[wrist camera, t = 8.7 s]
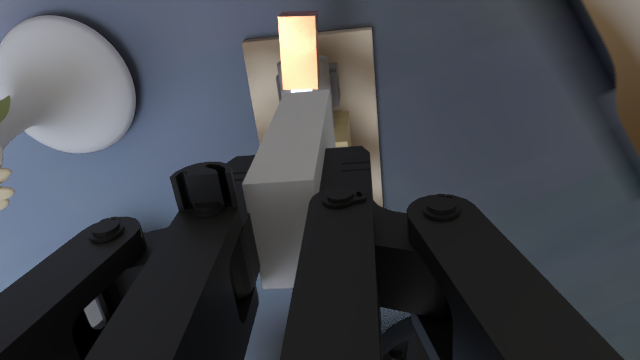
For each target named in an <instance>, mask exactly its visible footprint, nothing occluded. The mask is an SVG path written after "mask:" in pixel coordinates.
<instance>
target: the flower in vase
mask: <svg viewBox="0 0 640 360" xmlns="http://www.w3.org/2000/svg"><path fill="white" fill-rule="evenodd" d="M0 99H1V101H0V183H2V182H4V181H5V180H7V179H8V177H9V176H10V175H11V173H12V171H11V170H9V169H6V168H1V166H2V163H3V150H4V148H5V147H6V145H7V144H8V143H9V142H10V141H11V140H12V139H13V138H15V137H16V136H17V135H18V134H20V133H21V132H23V131H25V132H26V133H27V134H28V135H30V136H31V137H33V138H34V139H36V140H37V141H39V142H41V143H42V144H44V145H46V146H49V147H51V148H53V149H57V150H60V151H64V152H70V153H87V152H95V151H100V150H102V149H105V148H108V147H110V146H111V145H113V144H115V143H116V142H117V141H119V140H120V139H121V138H122V137H123V136H124V135H125V133H126V132H127V131H128V129H129V127H130V125H131V123H132V121H133V117H134V114H135V108H136V94H135V87H134V84H133V80H132V77H131V74H130V72H129V69H128V67H127V66H126V64H125V62H124V60H123V59H122V57H121V56H120V54H119V53H118V52H117V50H116V49H115V48H114V47H113V46H112V44H110V43H109V42H108V41H107V40H106V39H105V38H104V37H103V36H102V35H100V34H99V33H98V32H96V31H95V30H94V29H92V28H90V27H89V26H87V25H85V24H83V23H81V22H78V21H76V20H73V19H70V18H67V17H62V16H54V15H44V16H37V17H32V18H29V19H27V20H24V21H22V22H21V23H19V24H17V25H16V26H15V27H14V28H12V29H11V30H10V31H9V32H8V34H7V35H6V36H5V38H4V39H3V41H2V42H1V44H0ZM14 192H15V190H14V189H12V188H8V187H1V186H0V210H2V209H4V208H6V207H7V206H8V204H9V200H8V198H9V197H11V196H13V194H14Z"/></svg>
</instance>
